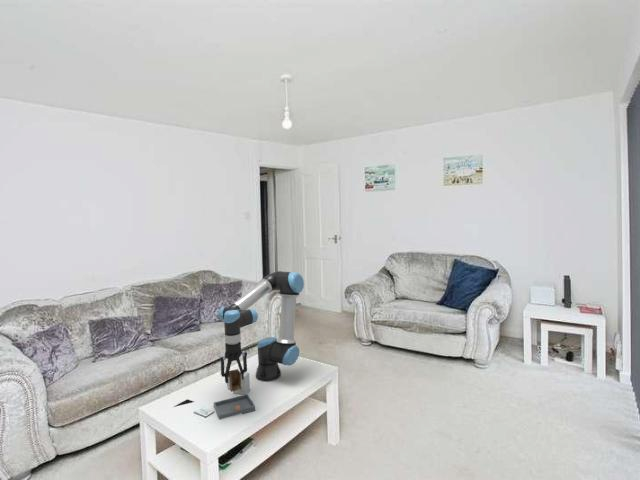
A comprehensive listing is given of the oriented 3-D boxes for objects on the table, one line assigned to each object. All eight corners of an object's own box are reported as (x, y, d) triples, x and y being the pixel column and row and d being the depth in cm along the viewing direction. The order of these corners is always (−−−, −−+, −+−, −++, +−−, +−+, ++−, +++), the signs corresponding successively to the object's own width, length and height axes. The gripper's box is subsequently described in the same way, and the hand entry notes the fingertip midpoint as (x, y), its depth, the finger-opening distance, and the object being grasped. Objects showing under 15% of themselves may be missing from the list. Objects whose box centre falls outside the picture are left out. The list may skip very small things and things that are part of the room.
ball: (239, 410, 184) (240, 404, 184) (240, 413, 182) (241, 407, 182) (233, 409, 184) (235, 403, 183) (234, 412, 181) (235, 407, 181)
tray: (247, 398, 197) (247, 394, 196) (255, 410, 184) (255, 405, 184) (213, 407, 188) (213, 402, 188) (219, 420, 176) (219, 415, 176)
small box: (250, 390, 206) (249, 372, 205) (245, 395, 200) (244, 376, 200) (237, 389, 208) (236, 371, 207) (232, 393, 202) (231, 375, 202)
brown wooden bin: (238, 384, 186) (237, 369, 186) (241, 389, 181) (240, 373, 180) (228, 386, 184) (227, 371, 183) (231, 391, 178) (230, 375, 178)
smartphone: (196, 403, 193) (196, 402, 193) (169, 419, 179) (169, 417, 179) (187, 400, 197) (187, 398, 197) (160, 415, 183) (160, 413, 183)
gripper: (248, 336, 188) (250, 380, 190) (212, 343, 180) (214, 388, 181) (253, 341, 181) (254, 386, 183) (215, 347, 173) (217, 395, 175)
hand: (234, 387), depth 182 cm, fingers closed on brown wooden bin, 5 cm apart
